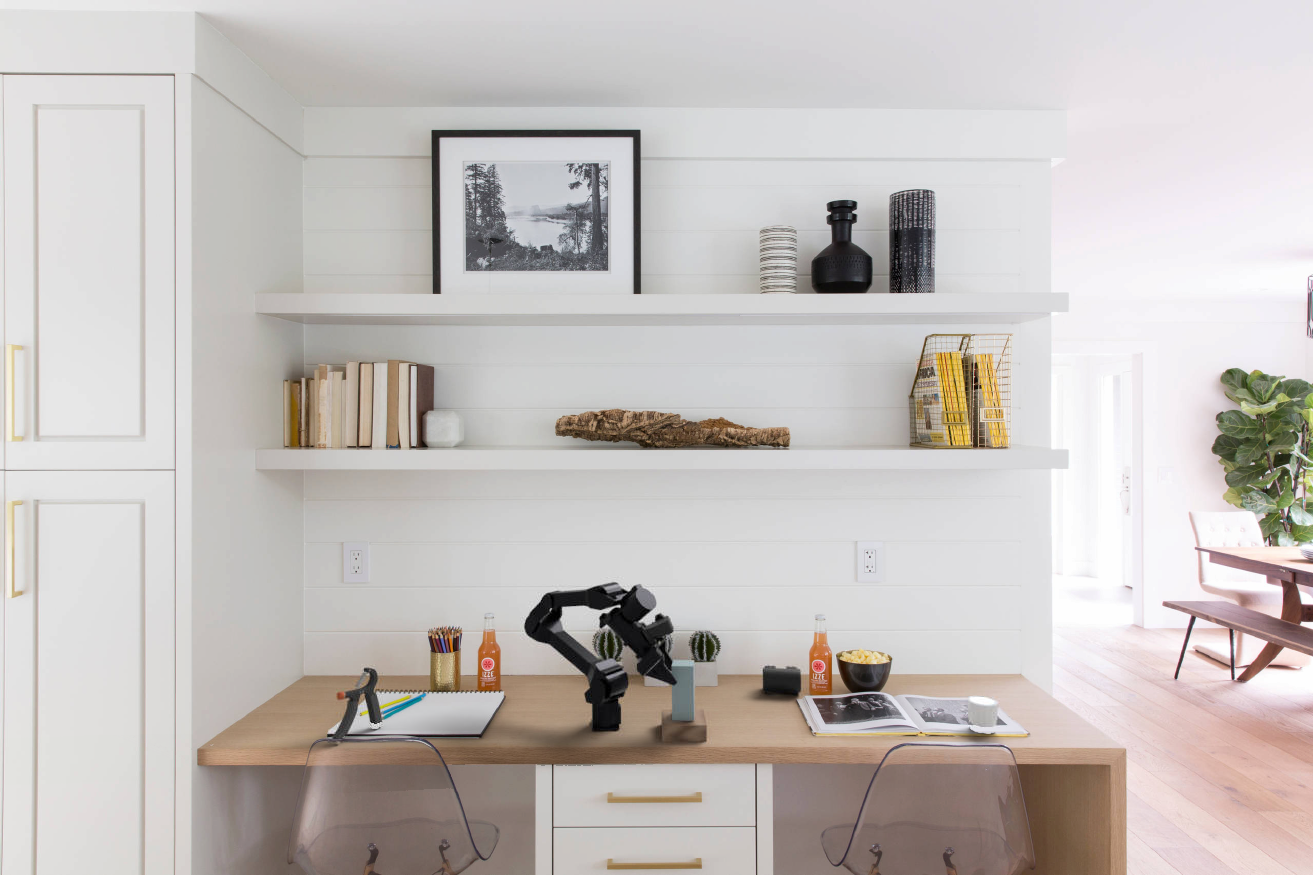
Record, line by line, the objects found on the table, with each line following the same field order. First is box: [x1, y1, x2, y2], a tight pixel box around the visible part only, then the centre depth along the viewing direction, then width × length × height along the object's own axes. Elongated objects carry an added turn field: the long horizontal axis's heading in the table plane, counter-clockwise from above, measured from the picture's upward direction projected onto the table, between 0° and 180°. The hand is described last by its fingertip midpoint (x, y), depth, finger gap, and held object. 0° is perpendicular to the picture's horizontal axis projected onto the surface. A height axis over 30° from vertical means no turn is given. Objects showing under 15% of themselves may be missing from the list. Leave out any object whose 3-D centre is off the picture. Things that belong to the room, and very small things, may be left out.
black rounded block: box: [762, 665, 802, 695], centre depth 202 cm, size 10×7×7 cm
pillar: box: [671, 659, 696, 721], centre depth 175 cm, size 5×5×12 cm
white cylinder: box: [966, 695, 999, 727], centre depth 177 cm, size 7×7×7 cm
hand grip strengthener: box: [332, 667, 383, 739], centre depth 173 cm, size 2×12×15 cm, turn 149°
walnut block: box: [661, 708, 708, 742], centre depth 175 cm, size 10×10×4 cm
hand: (676, 677), depth 176 cm, fingers open, 9 cm apart
